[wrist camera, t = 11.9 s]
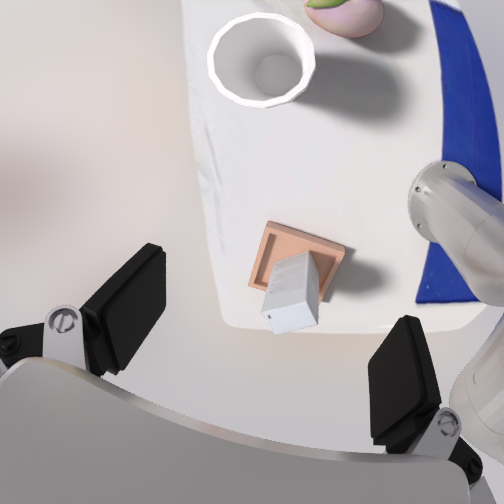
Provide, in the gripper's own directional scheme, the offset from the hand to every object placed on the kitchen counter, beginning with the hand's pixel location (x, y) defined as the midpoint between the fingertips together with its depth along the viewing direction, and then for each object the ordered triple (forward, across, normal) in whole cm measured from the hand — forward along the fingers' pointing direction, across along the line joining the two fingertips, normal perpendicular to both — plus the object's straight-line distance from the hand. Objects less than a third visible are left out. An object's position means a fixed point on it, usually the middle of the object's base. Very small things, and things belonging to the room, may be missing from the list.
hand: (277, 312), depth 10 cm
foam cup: (+30, +6, -11) cm, 32 cm away
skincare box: (+29, -3, +16) cm, 33 cm away
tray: (+29, -2, +16) cm, 33 cm away
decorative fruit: (+30, 0, -22) cm, 37 cm away
